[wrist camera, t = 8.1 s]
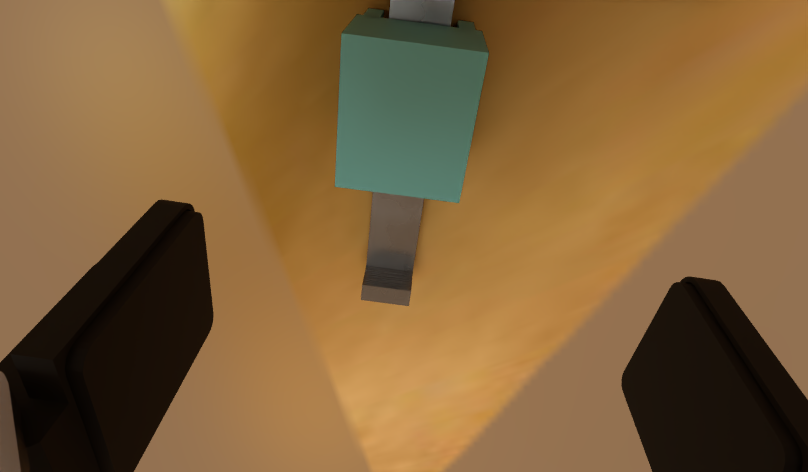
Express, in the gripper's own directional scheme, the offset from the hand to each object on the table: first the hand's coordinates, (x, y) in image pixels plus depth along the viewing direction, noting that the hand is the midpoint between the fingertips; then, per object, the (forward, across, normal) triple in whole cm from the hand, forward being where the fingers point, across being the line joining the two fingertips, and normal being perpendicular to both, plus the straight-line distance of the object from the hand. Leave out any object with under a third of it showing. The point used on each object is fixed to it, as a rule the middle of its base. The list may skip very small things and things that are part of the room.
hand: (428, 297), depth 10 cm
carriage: (+20, +1, +2) cm, 20 cm away
